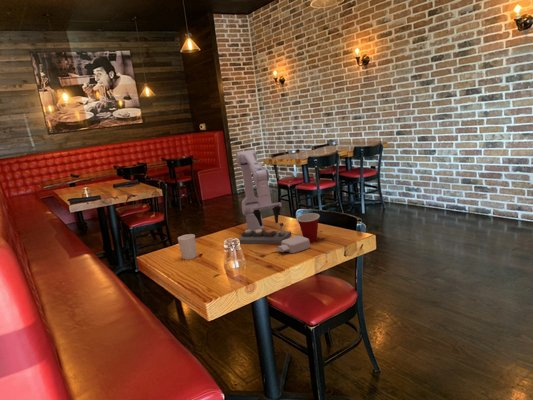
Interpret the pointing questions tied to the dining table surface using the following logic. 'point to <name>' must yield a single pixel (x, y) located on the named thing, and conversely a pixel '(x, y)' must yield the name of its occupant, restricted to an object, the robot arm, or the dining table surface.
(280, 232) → the toggle lever
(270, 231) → the button terracotta
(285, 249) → the white bottle
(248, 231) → the button sage
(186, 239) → the white cup
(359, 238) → the dining table surface
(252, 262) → the dining table surface
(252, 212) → the robot arm
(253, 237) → the control panel
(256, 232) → the button cream
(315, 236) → the plastic cup
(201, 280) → the dining table surface
